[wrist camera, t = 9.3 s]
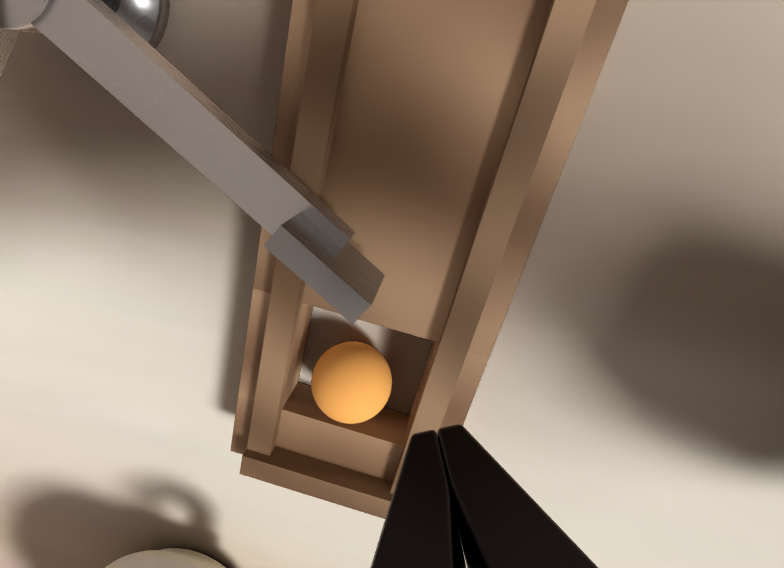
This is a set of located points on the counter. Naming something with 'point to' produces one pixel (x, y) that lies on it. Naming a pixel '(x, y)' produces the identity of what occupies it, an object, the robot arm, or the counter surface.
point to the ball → (351, 382)
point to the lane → (411, 207)
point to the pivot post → (143, 17)
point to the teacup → (166, 559)
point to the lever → (204, 143)
